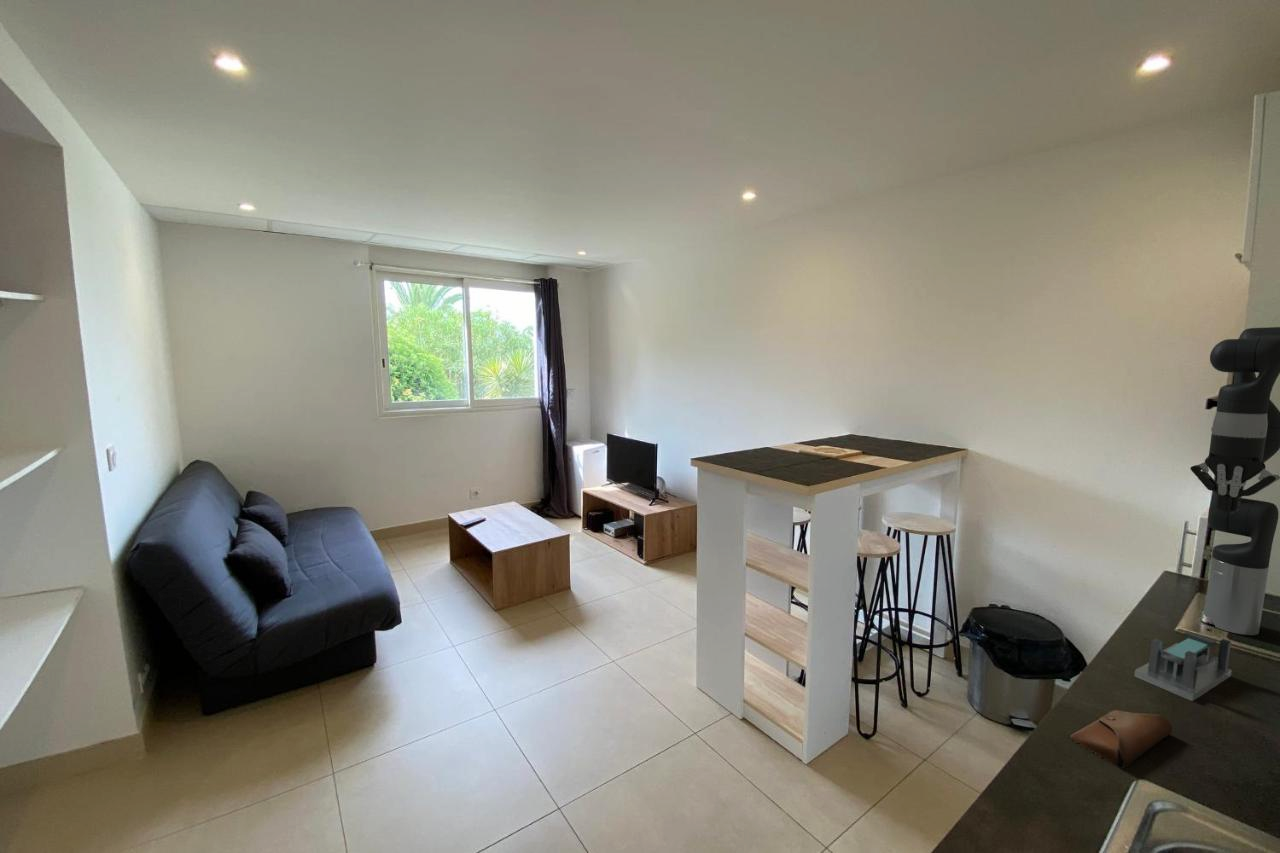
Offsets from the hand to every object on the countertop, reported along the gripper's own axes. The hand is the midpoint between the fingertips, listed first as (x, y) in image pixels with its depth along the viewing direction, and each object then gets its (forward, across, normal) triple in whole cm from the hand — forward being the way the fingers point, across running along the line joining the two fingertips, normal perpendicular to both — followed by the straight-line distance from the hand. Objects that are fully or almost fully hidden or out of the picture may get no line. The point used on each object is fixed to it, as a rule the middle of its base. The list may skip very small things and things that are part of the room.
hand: (1227, 512), depth 110 cm
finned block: (+35, 0, +12) cm, 37 cm away
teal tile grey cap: (+30, 0, +12) cm, 32 cm away
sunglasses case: (+36, -3, +46) cm, 58 cm away
